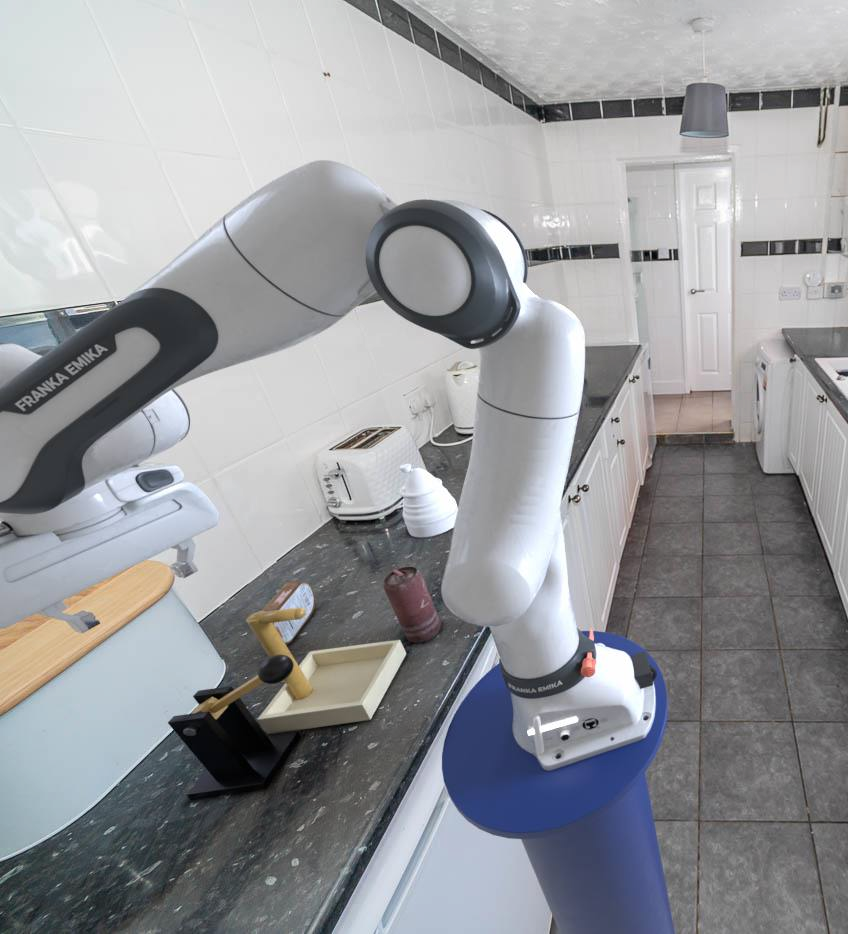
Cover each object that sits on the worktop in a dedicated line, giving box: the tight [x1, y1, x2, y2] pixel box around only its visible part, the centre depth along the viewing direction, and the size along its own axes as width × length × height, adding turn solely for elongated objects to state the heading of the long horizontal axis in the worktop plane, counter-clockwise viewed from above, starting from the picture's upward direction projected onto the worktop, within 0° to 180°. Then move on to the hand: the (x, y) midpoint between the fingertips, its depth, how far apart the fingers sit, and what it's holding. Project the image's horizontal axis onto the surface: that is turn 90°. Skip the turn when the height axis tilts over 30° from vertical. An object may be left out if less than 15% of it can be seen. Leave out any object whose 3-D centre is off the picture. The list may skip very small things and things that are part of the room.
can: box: [382, 566, 442, 644], centre depth 91 cm, size 6×6×14 cm
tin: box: [257, 580, 316, 646], centre depth 96 cm, size 15×3×8 cm, turn 12°
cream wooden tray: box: [256, 639, 407, 735], centre depth 82 cm, size 16×14×4 cm
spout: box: [245, 608, 313, 700], centre depth 78 cm, size 8×2×18 cm, turn 97°
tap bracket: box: [167, 685, 302, 801], centre depth 68 cm, size 10×8×14 cm
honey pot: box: [398, 463, 458, 538], centre depth 127 cm, size 13×13×18 cm
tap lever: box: [190, 655, 294, 720], centre depth 65 cm, size 16×4×4 cm, turn 96°
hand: (141, 599), depth 58 cm, fingers open, 8 cm apart
